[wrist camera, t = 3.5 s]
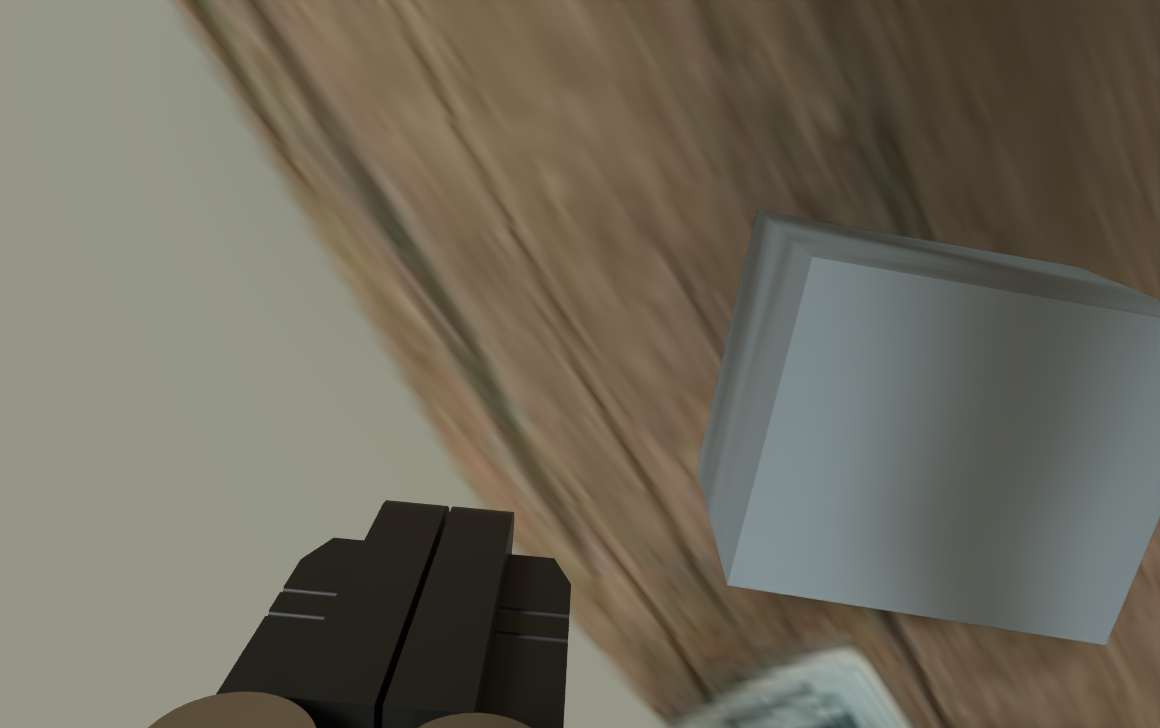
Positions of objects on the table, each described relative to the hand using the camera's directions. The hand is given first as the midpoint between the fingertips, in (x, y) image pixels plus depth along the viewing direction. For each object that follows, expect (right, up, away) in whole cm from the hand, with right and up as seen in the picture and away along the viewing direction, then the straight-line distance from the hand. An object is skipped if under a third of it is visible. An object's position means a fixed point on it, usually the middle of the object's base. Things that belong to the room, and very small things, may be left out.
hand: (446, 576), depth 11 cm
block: (+8, +2, +9) cm, 13 cm away
